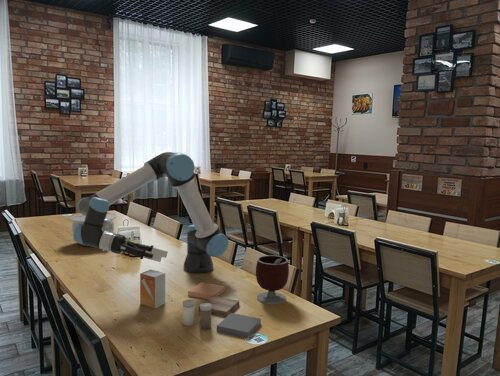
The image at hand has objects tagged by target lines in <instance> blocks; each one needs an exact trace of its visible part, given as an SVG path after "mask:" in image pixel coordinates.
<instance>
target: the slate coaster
mask: <svg viewBox="0 0 500 376" xmlns="http://www.w3.org/2000/svg"><path fill="white" fill-rule="evenodd" d="M261 321H262V319H261V318H260V317H254V316H249V315H244V314H239V313H234V312H231V313H230V314H229V315H228V316H227V317H224V318H223V319H222V320H221V322H218V324H217V325H216V332H218V333H224V334H229V335H233V336H236V337H241V338H247V339H248V338H249V337H251V336H252V334H253V333H254V332H255V331H256V330H257V329H258V327H259V326H260V325H261Z"/></svg>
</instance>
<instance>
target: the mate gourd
mask: <svg viewBox="0 0 500 376" xmlns="http://www.w3.org/2000/svg"><path fill="white" fill-rule="evenodd" d="M289 275H290V266H289V259H288V258H287V257H284V256H280V255H272V254H270V255H269V254H267V255H261V256H258V258H257V261H256V266H255V279H256V282H257V284H258V285H259V287H260V288H261V289H263V290H266V291H263V292H261V293H259V294H257V296H256V300H257V301H258V302H260V303H262V304H265V305H280V304H283V303H284V302H286V301H287V297H286V295H285V294H283V293H280V292H278V291H280V290H282V289H284V287H285V286H286V285H287V284H288V280H289ZM276 291H277V292H276Z"/></svg>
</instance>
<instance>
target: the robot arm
mask: <svg viewBox="0 0 500 376" xmlns="http://www.w3.org/2000/svg"><path fill="white" fill-rule="evenodd" d="M195 168H196V167H195V163H194V161H193V159H192V158H191V156H189V155H187V154H185V153H183V152H172V151H165V152H162V153H159V154H158V155H156V156H154V157H153V158H151V159H149V160H148V161H145V162H144V163H143V166H142V167H140V168H138V169H137V170H134V171H132V172H131V173H129V174H128V175H126V176H124V177H122V178H121V179H118V180H116V181H115V182H113V183H111V184H110V185H108V186H106V187H105V188H103V189H101V190H100V191H97V192H96V193H94V194H92V195H90V196H89V197H87V196H86V197H81V199H79V201H78V202H77V206H76V207H77V210H78V211H79V214H82V215H85V216H86V217H85V221H84V223H83V224H79V225H77V227H76V229H75V231H74V234H73V233H72V236H73V237H72V238H73V241H74V242H75V243H78V244H79V243H81V244H83V245H82V246H84V245H88V246H87V247H93V248H96V249H99V250H102V252H105V251H107V252H111V253H113V254H118V255H120V254H122V253H127V254H129V255H132V256H133V257H134V256H135V257H136V258H137V257H138V258H139V259H140V260H144V259H147V260H151V261H154V262H158V263H161V262H162V258H163V259H164V258H165V259H166V258H167V256H168V253H169V251H167V250H163V249H160V248H157V247H154V245H147V244H141V243H137V242H133V241H126V240H127V237H126V236H125V235H122V234H119V233H115V232H109V231H105V230H102V228H103V225H104V222H105V218H106V215H107V213H109V212H108V211H109V208H110V206H111V205H113V204H114V203H116V202H118V201H120V200H121V199H123V198H124V197H126V196H128V195H130V194H131V193H134V192H135V191H137V190H138V189H140V188H142V187H143V186H145V185H147V184H148V183H150V182H152V181H153V182H156V181H157V180H159V179H162V178H167V179H168V181H169V183H170V185H171V187H172V188H174V189H176V190H177V192H178V195H179V196H180V198H181V201H182V203H183V205H184V207H185V209H186V211H187V214H188V215H189V218H190V219H191V221H192V224H190V225H188V226H187V232H186V240H187V241H186V247H187V249H186V250H187V251H186V257H185V260H184V262H183V270H184V271H186V272H188V273H193V274H196V273H197V274H202V273H208V272H211V271H213V270H214V263H213V259H212V257H213V258H219V257H220V256H223V255H224V254H225V253H226V251H227V250H228V247H229V240H228V236H226V235H225V234H224V233H222V232H221V230H220V228H219V225H218V224H217V223H216V222H215V223H214V222H213V220H212V217H211V215H210V213H209V210H208V209H207V207H206V205H205V202H204V200H203V198H202V195H201V193H200V191H199V189H198V185H196V182H195V179H196V174H195Z"/></svg>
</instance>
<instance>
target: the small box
mask: <svg viewBox="0 0 500 376" xmlns="http://www.w3.org/2000/svg"><path fill="white" fill-rule="evenodd" d="M139 277H140V278H139V288H140V290H139V291H140V292H139V296H140V297H139V299H140V300H139V303H140V305H142V306H147V307H149V308H152V309H157V308H159V307H162V306H163V305H165V304H166V272H163V271H158V270H155V269H154V270H153V269H148V270H146V271H143V272H141V273H140V274H139Z"/></svg>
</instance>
